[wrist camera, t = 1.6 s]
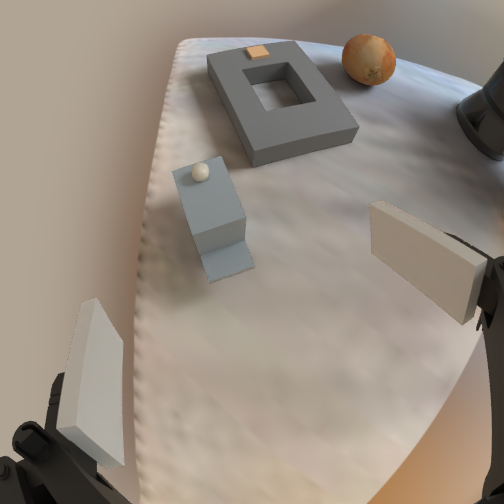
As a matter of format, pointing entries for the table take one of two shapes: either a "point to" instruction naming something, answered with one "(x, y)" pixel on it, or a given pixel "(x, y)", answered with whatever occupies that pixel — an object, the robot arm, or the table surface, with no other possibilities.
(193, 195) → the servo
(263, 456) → the table surface
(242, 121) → the pocket block
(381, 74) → the onion
